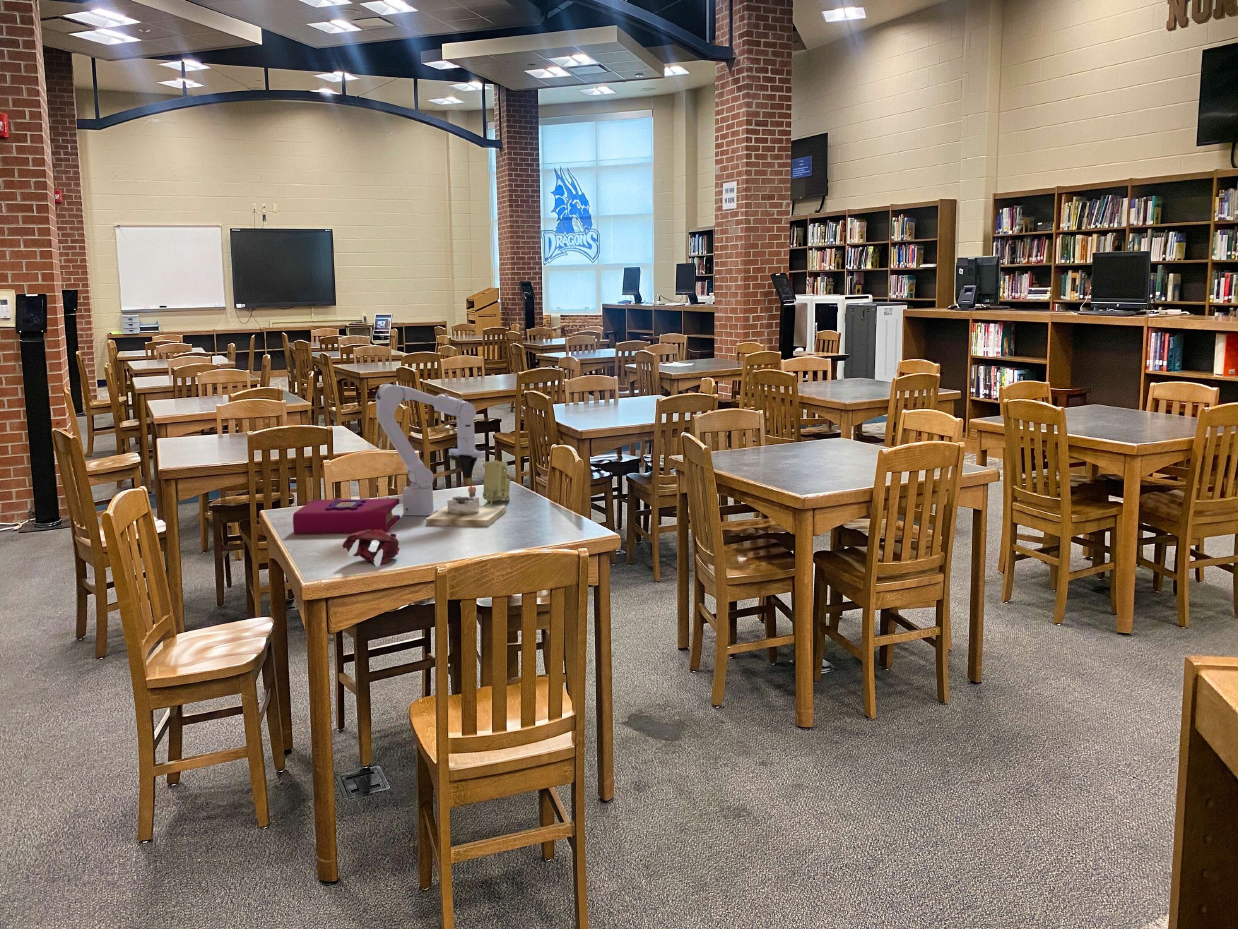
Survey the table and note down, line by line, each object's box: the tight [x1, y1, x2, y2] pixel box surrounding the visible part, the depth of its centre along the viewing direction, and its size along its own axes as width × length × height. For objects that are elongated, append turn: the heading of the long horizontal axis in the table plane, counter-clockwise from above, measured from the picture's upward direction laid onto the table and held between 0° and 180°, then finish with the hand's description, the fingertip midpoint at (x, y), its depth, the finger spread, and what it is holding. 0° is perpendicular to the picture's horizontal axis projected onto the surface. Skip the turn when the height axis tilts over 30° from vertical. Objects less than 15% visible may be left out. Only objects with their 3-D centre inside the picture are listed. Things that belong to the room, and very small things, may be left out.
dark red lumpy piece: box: [342, 529, 401, 567], centre depth 261 cm, size 15×13×9 cm
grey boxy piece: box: [446, 485, 480, 515], centre depth 314 cm, size 16×10×6 cm, turn 172°
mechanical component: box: [482, 459, 511, 506], centre depth 335 cm, size 8×17×20 cm, turn 176°
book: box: [292, 497, 401, 535], centre depth 303 cm, size 21×28×8 cm
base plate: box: [425, 504, 507, 527], centre depth 312 cm, size 20×21×2 cm
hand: (467, 477), depth 325 cm, fingers closed
